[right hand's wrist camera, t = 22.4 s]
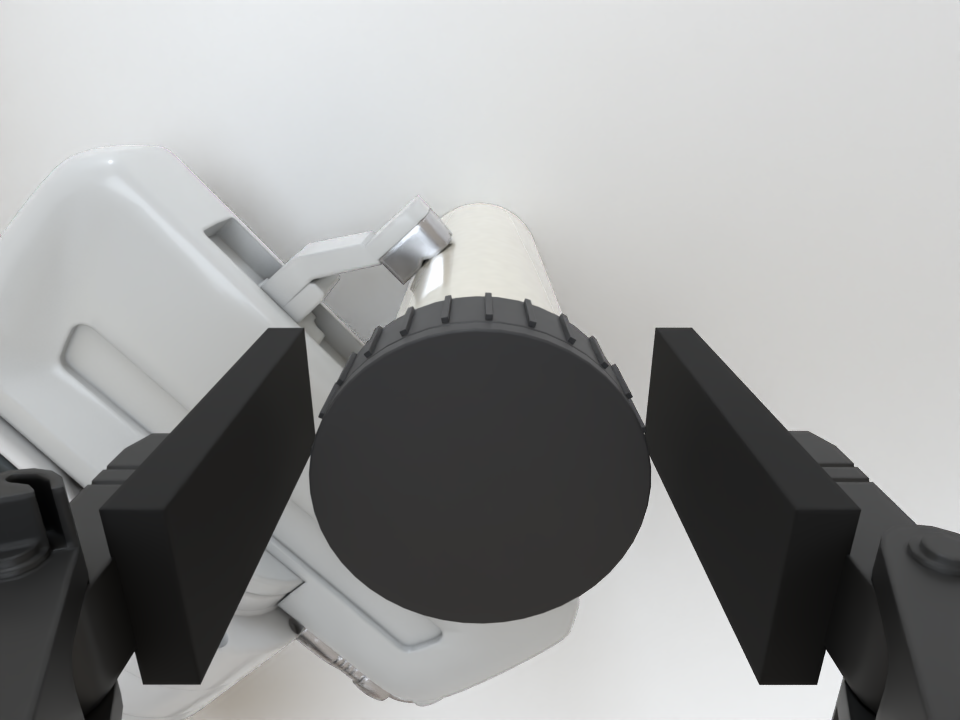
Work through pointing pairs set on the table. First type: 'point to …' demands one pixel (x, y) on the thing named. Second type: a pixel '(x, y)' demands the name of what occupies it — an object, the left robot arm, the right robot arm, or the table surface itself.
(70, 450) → the left robot arm
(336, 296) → the table surface
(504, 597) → the lid
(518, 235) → the cream cylinder
